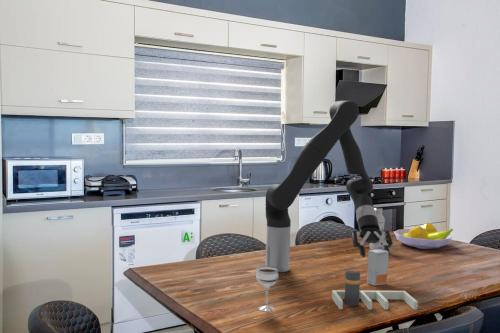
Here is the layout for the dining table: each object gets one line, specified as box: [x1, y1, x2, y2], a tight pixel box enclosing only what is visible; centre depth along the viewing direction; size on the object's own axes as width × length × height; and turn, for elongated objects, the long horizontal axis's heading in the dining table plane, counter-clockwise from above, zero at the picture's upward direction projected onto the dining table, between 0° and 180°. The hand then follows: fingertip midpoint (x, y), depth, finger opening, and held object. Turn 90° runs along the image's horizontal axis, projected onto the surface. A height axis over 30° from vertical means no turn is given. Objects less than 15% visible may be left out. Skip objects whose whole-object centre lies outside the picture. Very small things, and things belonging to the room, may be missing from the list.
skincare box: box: [366, 249, 390, 286], centre depth 166 cm, size 6×4×12 cm
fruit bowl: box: [393, 222, 454, 250], centre depth 228 cm, size 28×27×11 cm
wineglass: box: [255, 265, 279, 313], centre depth 139 cm, size 7×7×12 cm
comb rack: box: [331, 289, 418, 311], centre depth 145 cm, size 24×10×2 cm, turn 93°
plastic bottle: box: [369, 207, 386, 250], centre depth 216 cm, size 6×7×20 cm
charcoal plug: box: [343, 270, 361, 307], centre depth 144 cm, size 5×5×10 cm
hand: (375, 256), depth 169 cm, fingers open, 8 cm apart
